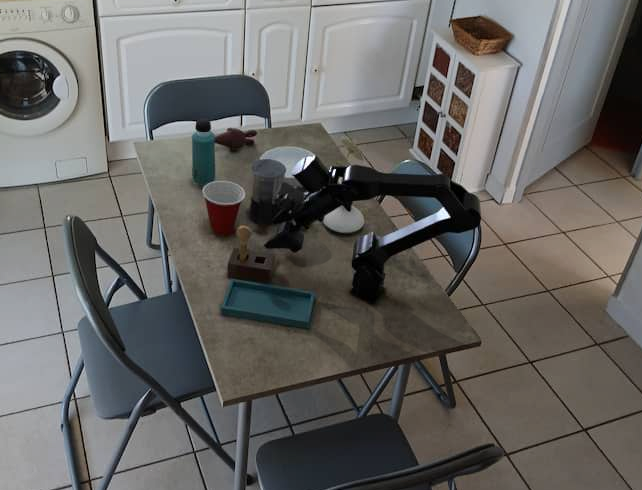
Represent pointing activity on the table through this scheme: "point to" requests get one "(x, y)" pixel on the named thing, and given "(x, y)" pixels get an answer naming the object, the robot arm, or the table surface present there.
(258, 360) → the table surface
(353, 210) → the flower in vase
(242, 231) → the tan round-headed peg
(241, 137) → the brown stuffed toy
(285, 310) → the tray
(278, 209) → the milk frother
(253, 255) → the slotted brown holder
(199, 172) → the beverage bottle
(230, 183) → the plastic cup
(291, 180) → the cereal bowl
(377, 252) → the robot arm
